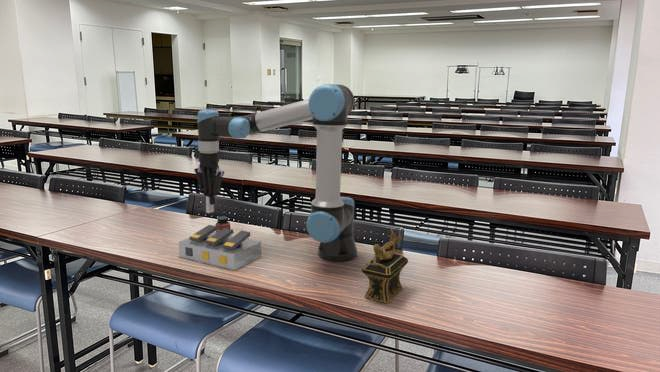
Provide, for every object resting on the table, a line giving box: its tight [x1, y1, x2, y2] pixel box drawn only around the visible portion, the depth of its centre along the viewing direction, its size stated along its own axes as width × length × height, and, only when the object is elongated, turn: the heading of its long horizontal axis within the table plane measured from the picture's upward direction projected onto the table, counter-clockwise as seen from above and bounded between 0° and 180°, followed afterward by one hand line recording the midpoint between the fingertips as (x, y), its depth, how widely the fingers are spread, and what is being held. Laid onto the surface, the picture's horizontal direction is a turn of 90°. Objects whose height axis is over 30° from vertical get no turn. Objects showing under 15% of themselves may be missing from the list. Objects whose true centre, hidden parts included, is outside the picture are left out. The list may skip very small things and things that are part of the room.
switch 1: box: [188, 224, 217, 242], centre depth 178 cm, size 4×11×2 cm, turn 153°
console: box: [178, 231, 262, 272], centre depth 176 cm, size 26×16×7 cm, turn 63°
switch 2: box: [206, 228, 234, 246], centre depth 175 cm, size 4×11×2 cm, turn 153°
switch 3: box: [223, 229, 251, 251], centre depth 171 cm, size 4×11×2 cm, turn 153°
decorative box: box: [361, 228, 409, 304], centre depth 148 cm, size 20×10×20 cm, turn 151°
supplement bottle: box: [214, 216, 231, 233], centre depth 189 cm, size 6×6×11 cm
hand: (210, 212), depth 181 cm, fingers closed
